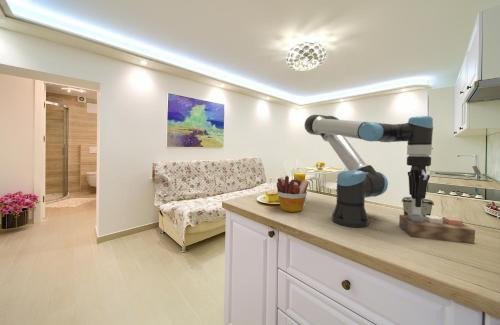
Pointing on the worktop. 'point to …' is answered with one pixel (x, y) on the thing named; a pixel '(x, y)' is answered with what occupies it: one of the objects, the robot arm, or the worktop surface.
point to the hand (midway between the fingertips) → (416, 214)
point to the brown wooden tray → (437, 230)
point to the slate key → (415, 218)
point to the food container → (425, 206)
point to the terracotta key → (452, 221)
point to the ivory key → (433, 219)
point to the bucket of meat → (291, 194)
